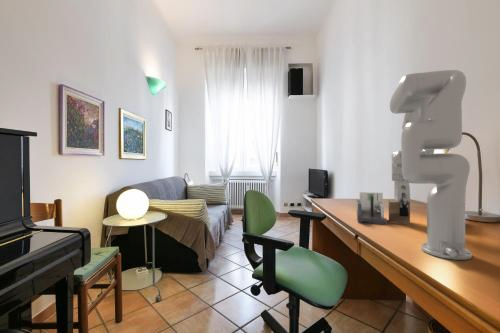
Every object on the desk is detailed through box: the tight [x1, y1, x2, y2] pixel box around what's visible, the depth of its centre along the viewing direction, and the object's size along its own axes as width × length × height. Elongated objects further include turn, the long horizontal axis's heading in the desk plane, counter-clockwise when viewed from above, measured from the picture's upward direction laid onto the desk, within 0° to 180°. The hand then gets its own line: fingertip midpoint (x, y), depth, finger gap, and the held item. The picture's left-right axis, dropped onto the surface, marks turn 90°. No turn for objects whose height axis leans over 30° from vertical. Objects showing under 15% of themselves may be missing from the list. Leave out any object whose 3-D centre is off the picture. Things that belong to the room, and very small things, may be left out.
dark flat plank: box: [371, 196, 374, 217], centre depth 123 cm, size 2×1×10 cm, turn 159°
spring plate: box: [376, 203, 385, 218], centre depth 119 cm, size 8×3×6 cm, turn 159°
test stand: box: [356, 191, 387, 225], centre depth 120 cm, size 12×12×13 cm
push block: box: [388, 199, 411, 225], centre depth 116 cm, size 4×8×10 cm, turn 69°
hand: (401, 214), depth 115 cm, fingers open, 9 cm apart
